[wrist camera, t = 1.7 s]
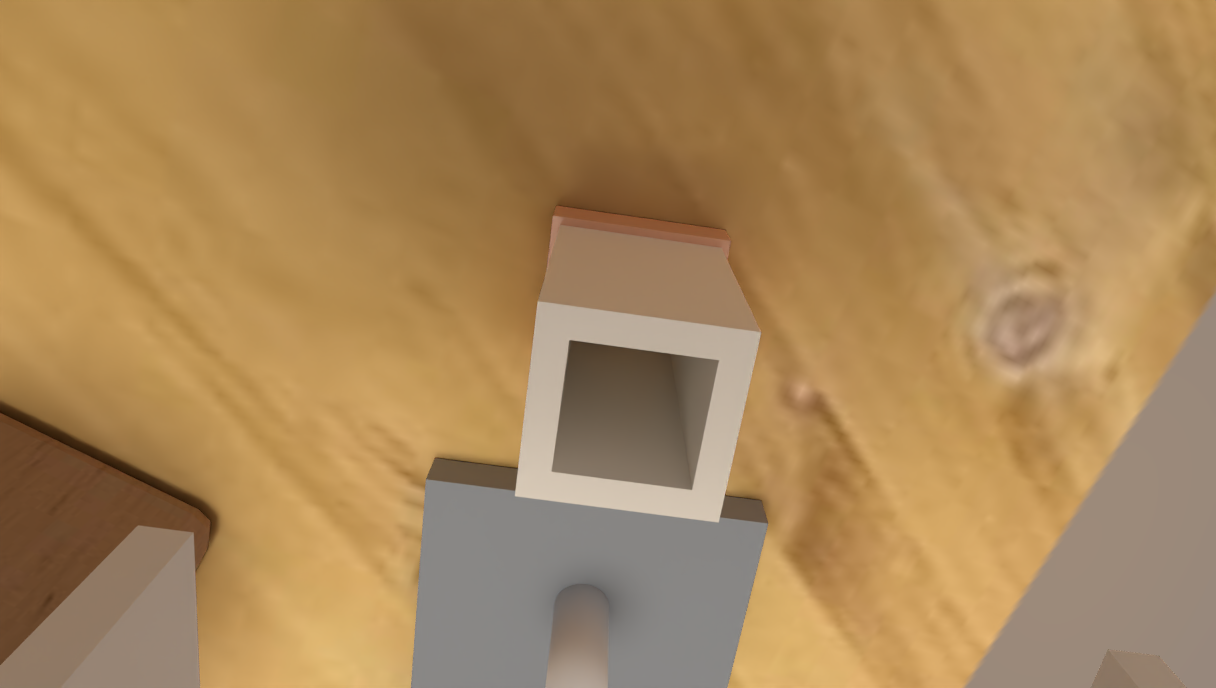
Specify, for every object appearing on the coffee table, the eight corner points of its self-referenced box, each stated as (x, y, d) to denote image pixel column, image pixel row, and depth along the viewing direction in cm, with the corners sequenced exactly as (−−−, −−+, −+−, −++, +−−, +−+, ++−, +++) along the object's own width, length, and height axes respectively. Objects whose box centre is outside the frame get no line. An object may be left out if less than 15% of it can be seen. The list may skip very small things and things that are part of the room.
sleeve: (556, 205, 26) (527, 288, 18) (725, 229, 27) (774, 323, 18) (537, 362, 28) (503, 503, 20) (694, 383, 29) (726, 532, 20)
